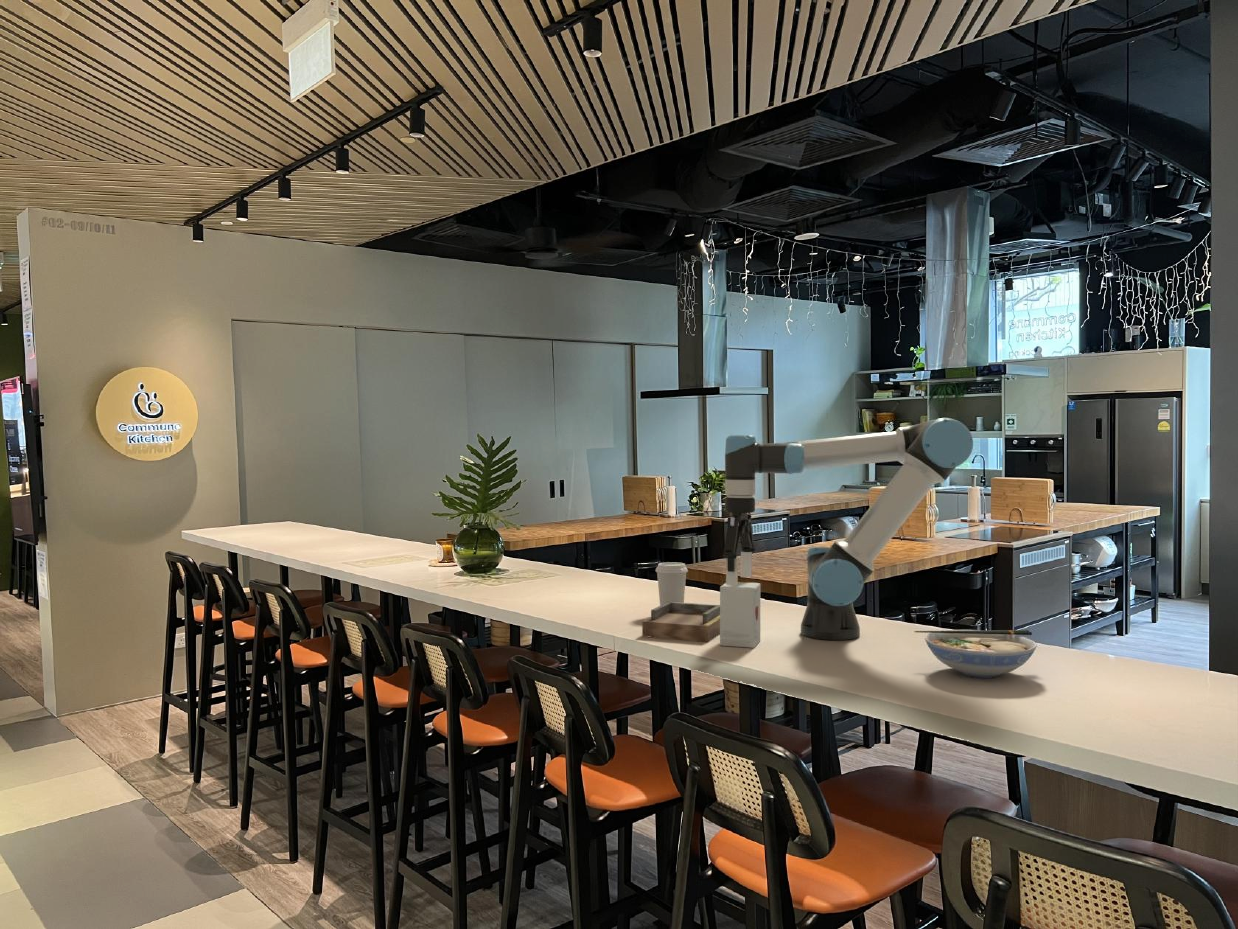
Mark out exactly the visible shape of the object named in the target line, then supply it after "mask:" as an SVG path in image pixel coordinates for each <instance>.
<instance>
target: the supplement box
mask: <svg viewBox="0 0 1238 929" xmlns="http://www.w3.org/2000/svg"><path fill="white" fill-rule="evenodd" d="M719 605H720V634H719V646H724V647H735V648H736V647H738V648H752V649H754V648H756V646H758V645H759V643H760V642H761V583H759V582H745V581H744V582H743V581H741V582H740V581H738V585H726V582H725V583H723V585H721V586H720V587H719Z"/></svg>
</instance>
